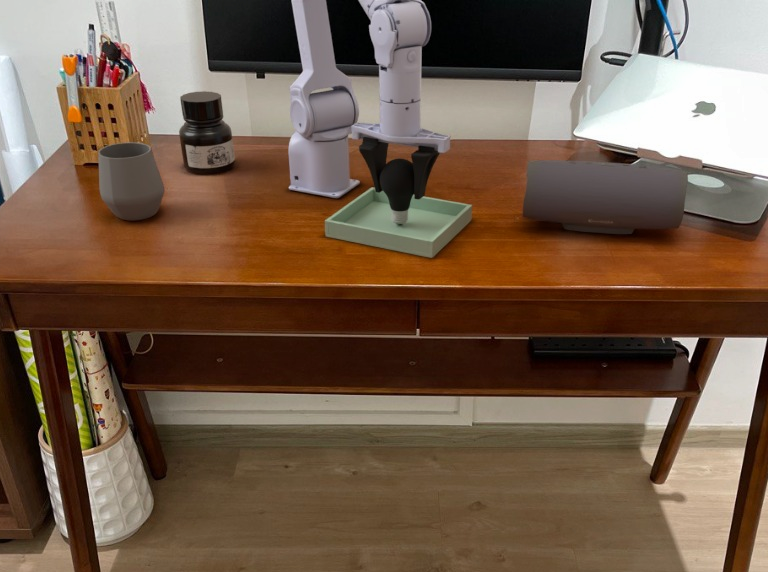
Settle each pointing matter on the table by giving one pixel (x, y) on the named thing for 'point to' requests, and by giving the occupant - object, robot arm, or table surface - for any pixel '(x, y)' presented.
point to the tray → (416, 236)
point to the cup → (130, 180)
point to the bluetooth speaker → (605, 196)
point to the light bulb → (398, 187)
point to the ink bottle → (205, 134)
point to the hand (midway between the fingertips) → (400, 193)
